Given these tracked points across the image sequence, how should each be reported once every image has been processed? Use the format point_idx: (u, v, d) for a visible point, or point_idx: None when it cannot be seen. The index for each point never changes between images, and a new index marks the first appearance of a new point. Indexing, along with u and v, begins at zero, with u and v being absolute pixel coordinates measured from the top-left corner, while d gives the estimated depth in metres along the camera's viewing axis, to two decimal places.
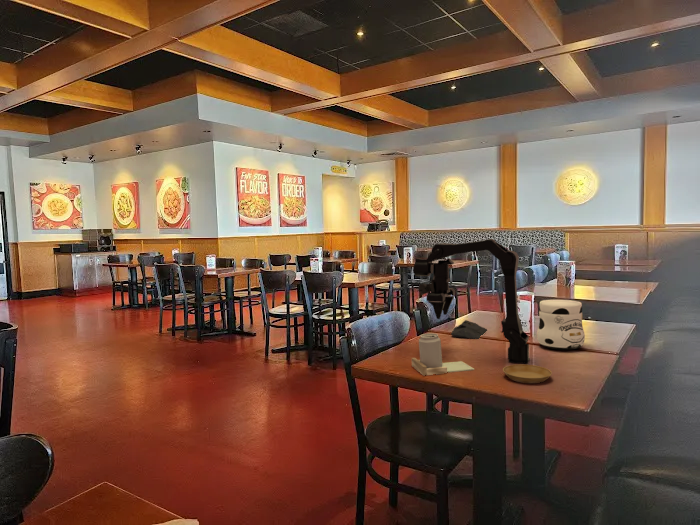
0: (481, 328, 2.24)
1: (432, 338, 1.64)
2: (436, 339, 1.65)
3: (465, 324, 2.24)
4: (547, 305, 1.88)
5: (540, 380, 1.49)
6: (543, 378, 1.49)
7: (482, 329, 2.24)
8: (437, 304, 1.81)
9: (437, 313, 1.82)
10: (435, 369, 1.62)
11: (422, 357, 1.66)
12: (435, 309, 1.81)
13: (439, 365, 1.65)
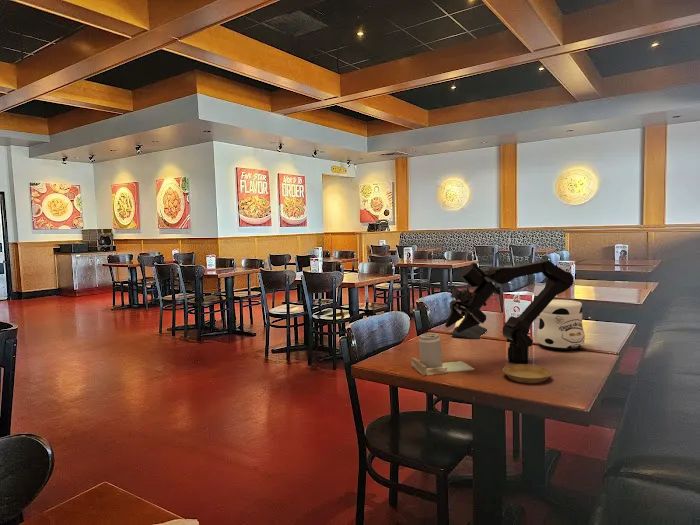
0: (481, 328, 2.24)
1: (432, 338, 1.64)
2: (436, 339, 1.65)
3: None
4: (547, 305, 1.88)
5: (540, 380, 1.49)
6: (543, 378, 1.49)
7: (483, 329, 2.24)
8: (469, 320, 1.64)
9: (461, 327, 1.64)
10: (435, 369, 1.62)
11: (422, 357, 1.66)
12: (464, 323, 1.63)
13: (439, 365, 1.65)
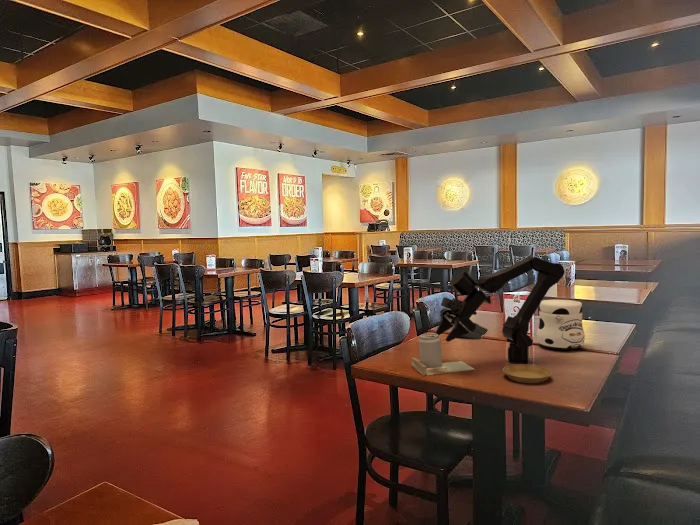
0: (482, 328, 2.24)
1: (432, 338, 1.64)
2: (436, 339, 1.65)
3: None
4: (547, 305, 1.88)
5: (540, 380, 1.49)
6: (543, 378, 1.49)
7: (483, 329, 2.23)
8: (459, 329, 1.63)
9: (451, 336, 1.63)
10: (435, 369, 1.62)
11: (422, 357, 1.66)
12: (454, 332, 1.63)
13: (439, 365, 1.65)
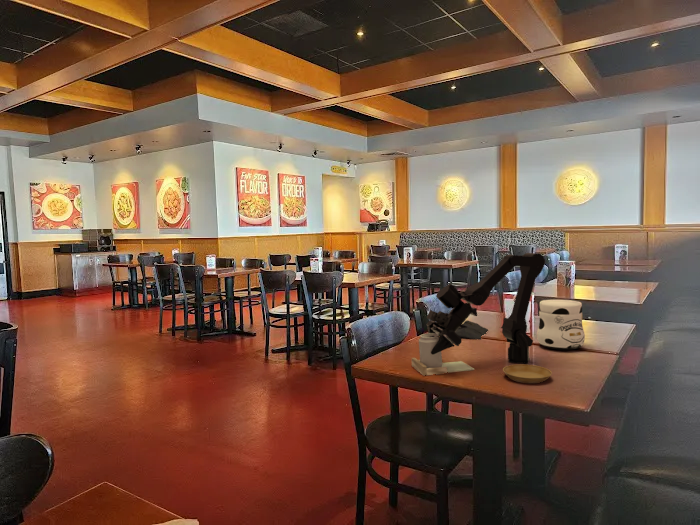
0: (482, 328, 2.24)
1: (432, 338, 1.64)
2: (436, 339, 1.65)
3: (466, 324, 2.23)
4: (547, 305, 1.88)
5: (540, 380, 1.49)
6: (543, 378, 1.49)
7: (483, 329, 2.23)
8: (444, 342, 1.63)
9: (436, 349, 1.63)
10: (435, 369, 1.62)
11: (422, 357, 1.66)
12: (439, 345, 1.62)
13: (439, 365, 1.65)
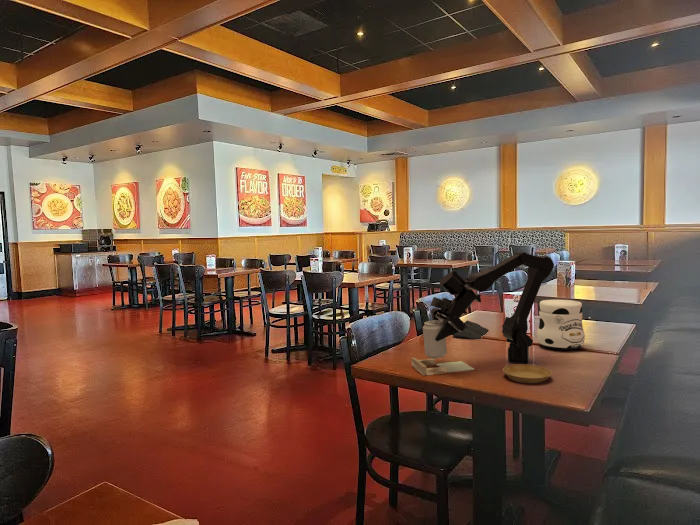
0: (483, 329, 2.23)
1: (436, 325, 1.64)
2: (440, 326, 1.65)
3: (467, 324, 2.23)
4: (547, 305, 1.88)
5: (540, 380, 1.49)
6: (543, 378, 1.49)
7: (484, 329, 2.23)
8: (448, 328, 1.63)
9: (440, 335, 1.63)
10: (435, 369, 1.62)
11: (426, 344, 1.66)
12: (443, 331, 1.63)
13: (443, 352, 1.65)
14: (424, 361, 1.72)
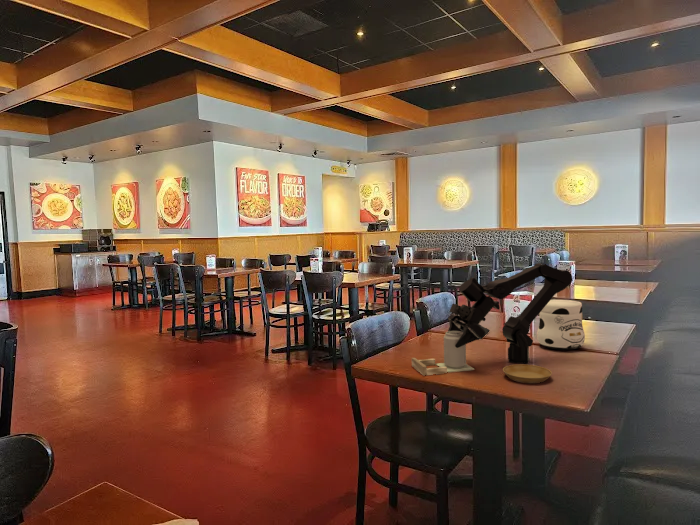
0: (484, 329, 2.23)
1: (458, 335, 1.66)
2: None
3: None
4: (547, 305, 1.88)
5: (540, 380, 1.49)
6: (543, 378, 1.49)
7: (485, 329, 2.22)
8: (468, 335, 1.64)
9: (460, 342, 1.64)
10: (435, 369, 1.62)
11: (446, 354, 1.67)
12: (463, 338, 1.63)
13: (463, 362, 1.67)
14: (424, 361, 1.72)
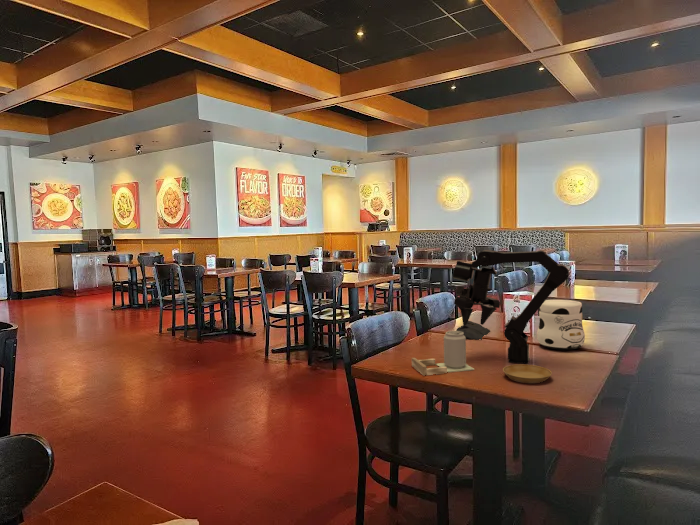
0: (484, 329, 2.23)
1: (458, 335, 1.66)
2: (461, 337, 1.66)
3: (468, 325, 2.23)
4: (547, 305, 1.88)
5: (540, 380, 1.49)
6: (543, 378, 1.49)
7: (485, 330, 2.22)
8: (465, 310, 1.76)
9: (464, 319, 1.77)
10: (435, 369, 1.62)
11: (446, 354, 1.67)
12: (462, 314, 1.77)
13: (463, 363, 1.67)
14: (424, 361, 1.72)
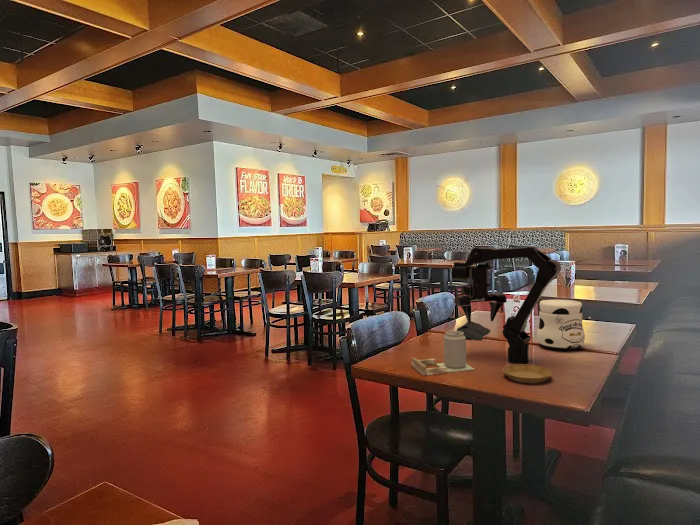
0: (484, 329, 2.22)
1: (458, 335, 1.66)
2: (461, 337, 1.66)
3: (468, 325, 2.22)
4: (547, 305, 1.88)
5: (540, 380, 1.49)
6: (543, 378, 1.49)
7: (486, 330, 2.22)
8: (466, 308, 1.80)
9: (467, 317, 1.81)
10: (435, 369, 1.62)
11: (446, 354, 1.67)
12: (465, 313, 1.81)
13: (463, 363, 1.67)
14: (424, 361, 1.72)
